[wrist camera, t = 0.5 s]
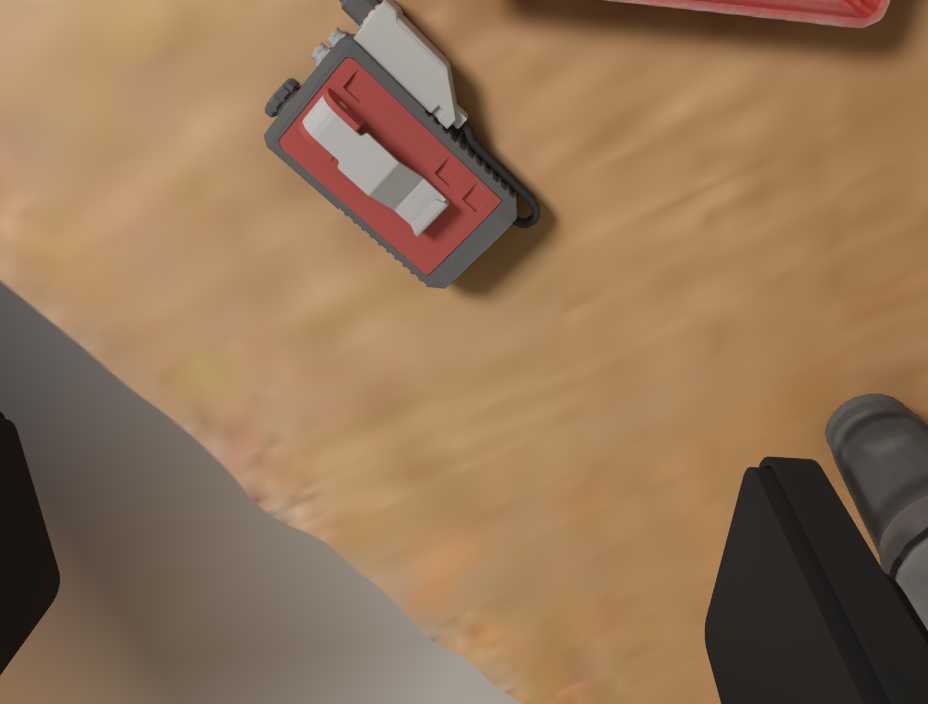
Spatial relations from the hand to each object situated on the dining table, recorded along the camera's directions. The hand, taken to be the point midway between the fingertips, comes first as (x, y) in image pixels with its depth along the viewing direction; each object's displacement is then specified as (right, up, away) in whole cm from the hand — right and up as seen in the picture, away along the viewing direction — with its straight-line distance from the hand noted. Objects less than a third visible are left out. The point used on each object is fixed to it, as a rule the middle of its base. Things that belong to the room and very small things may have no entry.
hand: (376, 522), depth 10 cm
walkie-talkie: (-4, +15, +27) cm, 31 cm away
